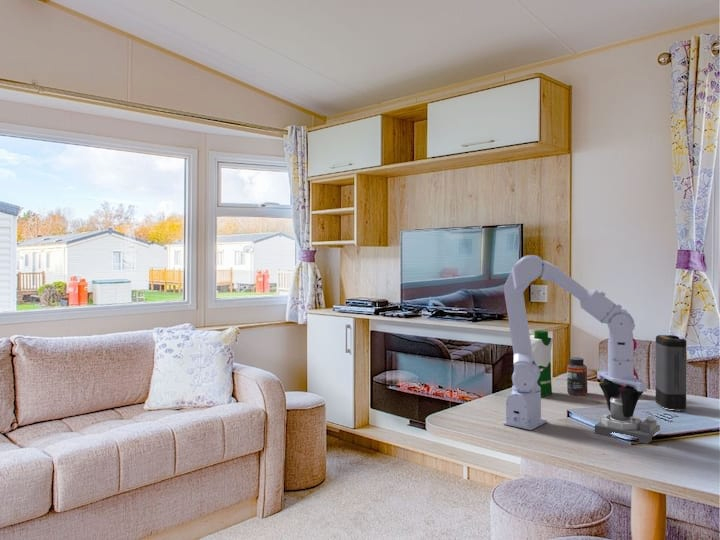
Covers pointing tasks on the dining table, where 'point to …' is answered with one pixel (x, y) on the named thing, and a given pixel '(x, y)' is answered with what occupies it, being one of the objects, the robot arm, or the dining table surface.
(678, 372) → the electronic device
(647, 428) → the grey base plate
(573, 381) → the supplement bottle
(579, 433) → the dining table surface
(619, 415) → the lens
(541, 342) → the milk carton
